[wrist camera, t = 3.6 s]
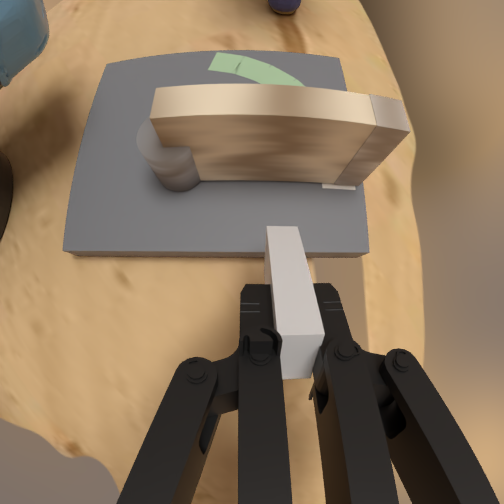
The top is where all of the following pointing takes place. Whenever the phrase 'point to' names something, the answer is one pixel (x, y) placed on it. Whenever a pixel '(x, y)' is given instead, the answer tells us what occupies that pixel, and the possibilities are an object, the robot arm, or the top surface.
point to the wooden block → (268, 134)
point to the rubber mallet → (284, 6)
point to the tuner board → (205, 192)
